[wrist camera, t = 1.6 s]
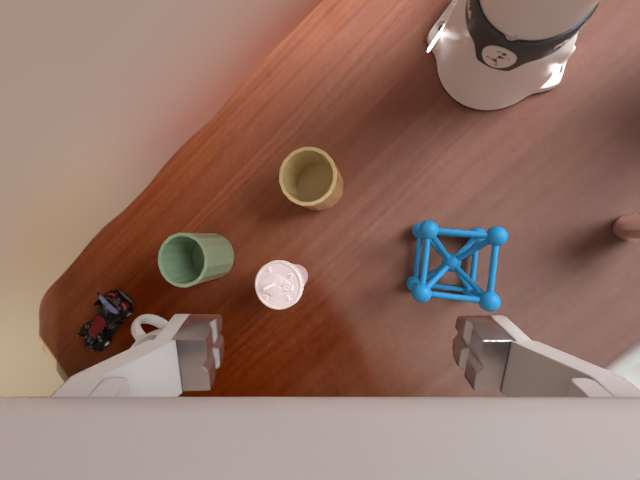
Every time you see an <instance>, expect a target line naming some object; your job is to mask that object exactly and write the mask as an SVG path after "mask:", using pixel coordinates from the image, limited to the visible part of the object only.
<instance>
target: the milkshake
mask: <svg viewBox="0 0 640 480" xmlns="http://www.w3.org/2000/svg"><path fill="white" fill-rule="evenodd" d="M613 231H614V232H615V234H616V235H617V237H619V238H622V239H624V240H630V241H638V242H640V213H638V214H632V215H627V216H622V217H619V218H618V219H617V220H616V221H615V222H614V227H613Z"/></svg>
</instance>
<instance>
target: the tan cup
mask: <svg viewBox="0 0 640 480" xmlns="http://www.w3.org/2000/svg"><path fill="white" fill-rule="evenodd" d="M279 183H280V186H281V189H282V192H283V193H284V194H285V196H286V197H287V198H288V199H289V200H290V201H292V202H294V203H296V204H298V205H300V206H303V207H306V208H308V209H311V210H325V209H328V208H330V207H332V206H333V205H335V204H336V203H337V202H338V200H339V199H340V197H341V195H342V193H343V188H344V183H343V178H342V175H341V172H340V171H339V169H338V167H337V166H336V164H335V163H334V161H333V160H332V158H331V157H330V156H329V155H328V154H327V153H326V152H325V151H323V150H321V149H318V148H316V147H302V148H299V149H297V150H294V151H292V152H291V153H290V154H289V155H288V156H287V157H286V158H285V159H284V161H283V163H282V166H281V168H280V171H279Z"/></svg>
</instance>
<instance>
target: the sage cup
mask: <svg viewBox="0 0 640 480" xmlns="http://www.w3.org/2000/svg"><path fill="white" fill-rule="evenodd" d="M233 262H234V251H233V248H232V246H231V244H230V242H229V241H228V240H227V239H226V238H225V237H224V236H222V235H220V234H216V233H177V234H174V235H171V236H169V237H168V238H167V239H166V240H165V241H164V242H163V243H162V245H161V248H160V250H159V252H158V266H159V269H160V272H161V274H162V275H163V277H164V278H165V279H166V280H167V281H168V282H169V283H171V284H172V285H174V286H176V287H185V288H187V287H190V286H194V285H198V284H201V283H205V282H208V281H212V280H215V279H218V278H221V277H223V276H225V275H226V274H227V273H228V272H229V271H230V269H231V268H232V265H233Z"/></svg>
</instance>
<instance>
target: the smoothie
mask: <svg viewBox="0 0 640 480" xmlns="http://www.w3.org/2000/svg"><path fill="white" fill-rule="evenodd" d="M307 279H308V273H307V271H306V269H305V268H304V267H303V266H301V265H298V264H291V263H290V262H287V261H284V260H275V261H272V262H269V263H267V264H266V265H264V266H263V267H262V268H261V269H260V270H259V272H258V273H257V276H256V279H255V290H256V294H257V296H258V298H259V299H260V301H261V302H262V303H263V304H264V305H266V306H267V307H269V308H272V309H277V310H281V309H286V308H289V307H291V306H292V305H294V304H295V303H296V302H297V301H298V300H299V299H300V297H301V295H302V293H303V289H304V285H305V284H306V282H307Z"/></svg>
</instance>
